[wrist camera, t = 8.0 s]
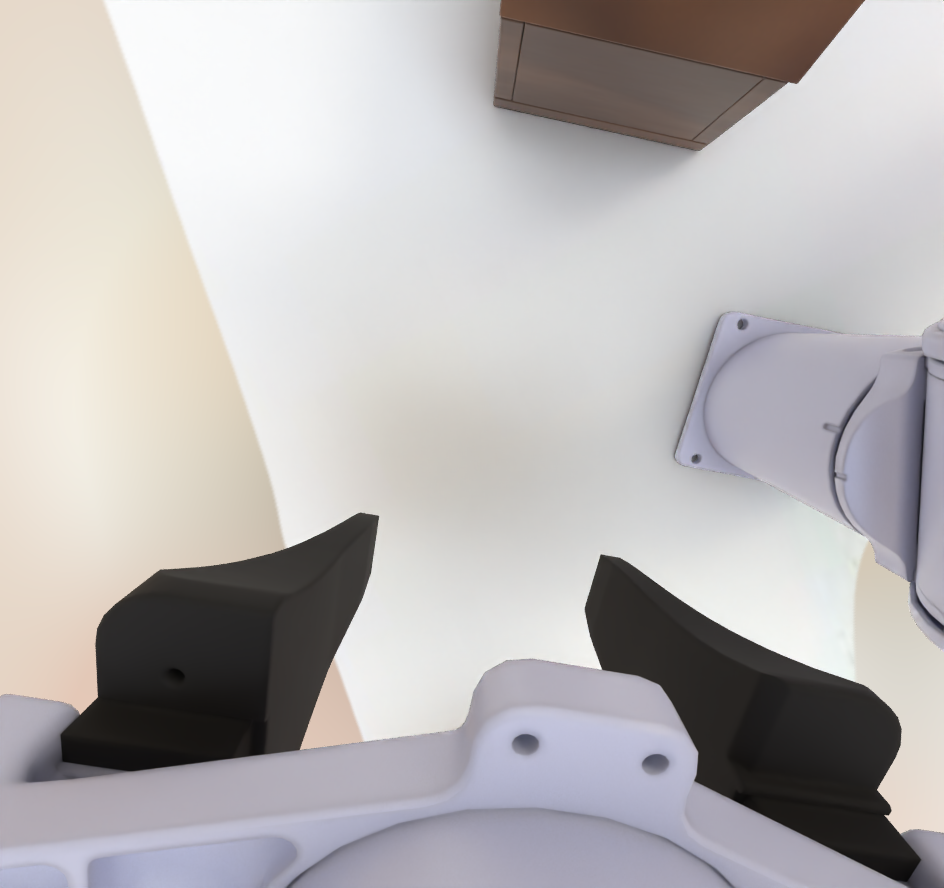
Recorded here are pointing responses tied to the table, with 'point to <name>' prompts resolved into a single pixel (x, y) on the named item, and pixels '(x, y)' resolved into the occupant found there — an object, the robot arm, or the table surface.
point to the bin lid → (704, 28)
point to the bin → (621, 86)
